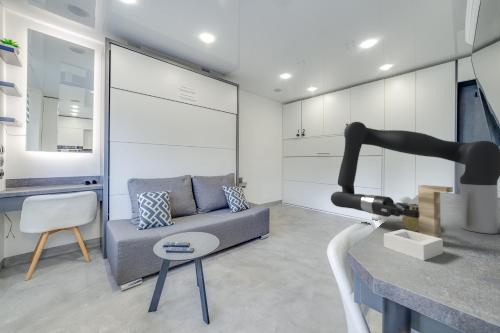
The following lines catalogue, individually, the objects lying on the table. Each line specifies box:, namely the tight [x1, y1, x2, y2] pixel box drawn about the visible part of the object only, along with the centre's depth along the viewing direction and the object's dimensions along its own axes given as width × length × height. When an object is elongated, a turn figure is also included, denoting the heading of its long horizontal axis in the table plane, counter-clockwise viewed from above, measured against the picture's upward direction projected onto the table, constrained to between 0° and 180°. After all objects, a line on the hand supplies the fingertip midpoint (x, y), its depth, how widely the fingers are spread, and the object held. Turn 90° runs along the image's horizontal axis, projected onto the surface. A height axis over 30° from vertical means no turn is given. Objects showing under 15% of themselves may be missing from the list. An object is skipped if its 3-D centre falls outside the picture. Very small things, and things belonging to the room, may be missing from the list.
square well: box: [383, 228, 444, 261], centre depth 58 cm, size 10×10×4 cm
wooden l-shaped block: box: [417, 184, 454, 239], centre depth 63 cm, size 4×7×18 cm, turn 25°
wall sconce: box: [401, 203, 442, 232], centre depth 83 cm, size 14×10×25 cm
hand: (426, 213), depth 65 cm, fingers open, 8 cm apart
